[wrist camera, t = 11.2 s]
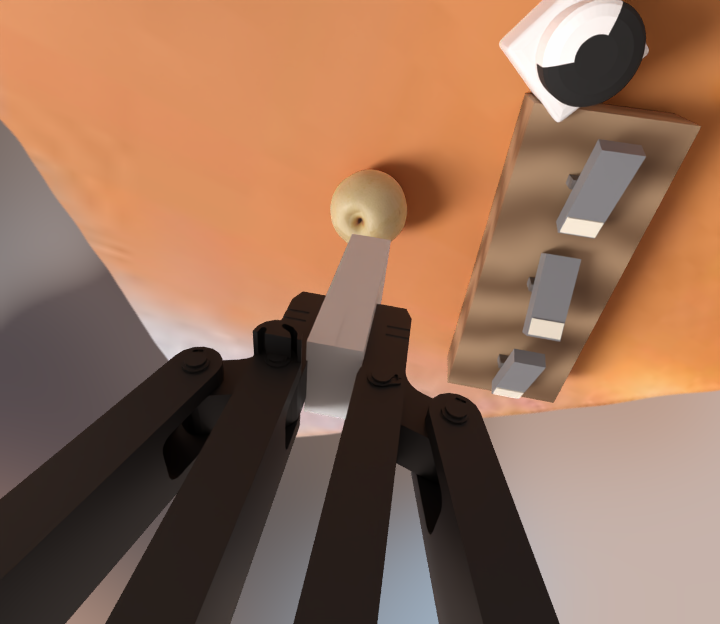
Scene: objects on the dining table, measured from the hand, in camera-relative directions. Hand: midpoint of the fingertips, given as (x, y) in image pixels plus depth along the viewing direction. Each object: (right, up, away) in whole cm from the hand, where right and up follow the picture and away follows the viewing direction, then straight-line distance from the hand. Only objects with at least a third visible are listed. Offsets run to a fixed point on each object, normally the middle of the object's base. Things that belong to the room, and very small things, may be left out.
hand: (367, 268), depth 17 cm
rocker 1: (+17, -9, +31) cm, 36 cm away
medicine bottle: (+17, +21, +20) cm, 34 cm away
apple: (+1, +11, +30) cm, 32 cm away
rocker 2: (+18, 0, +25) cm, 31 cm away
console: (+19, +4, +31) cm, 37 cm away
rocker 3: (+19, +8, +19) cm, 28 cm away
